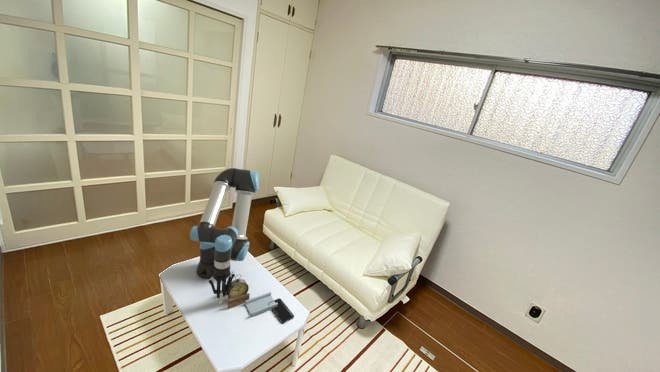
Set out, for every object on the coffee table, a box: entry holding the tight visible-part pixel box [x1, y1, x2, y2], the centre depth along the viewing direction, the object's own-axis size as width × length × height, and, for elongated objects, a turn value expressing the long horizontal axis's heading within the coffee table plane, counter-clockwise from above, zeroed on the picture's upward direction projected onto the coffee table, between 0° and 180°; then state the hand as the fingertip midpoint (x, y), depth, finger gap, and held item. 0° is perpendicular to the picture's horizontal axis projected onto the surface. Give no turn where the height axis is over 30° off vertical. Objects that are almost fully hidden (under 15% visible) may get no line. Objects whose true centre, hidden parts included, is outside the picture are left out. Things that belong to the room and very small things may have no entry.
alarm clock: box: [226, 274, 249, 300], centre depth 142 cm, size 11×5×16 cm, turn 129°
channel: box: [224, 291, 251, 310], centre depth 144 cm, size 10×11×5 cm
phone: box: [268, 297, 295, 324], centre depth 142 cm, size 8×1×15 cm
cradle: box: [244, 291, 278, 318], centre depth 143 cm, size 10×14×2 cm, turn 128°
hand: (220, 301), depth 139 cm, fingers closed
